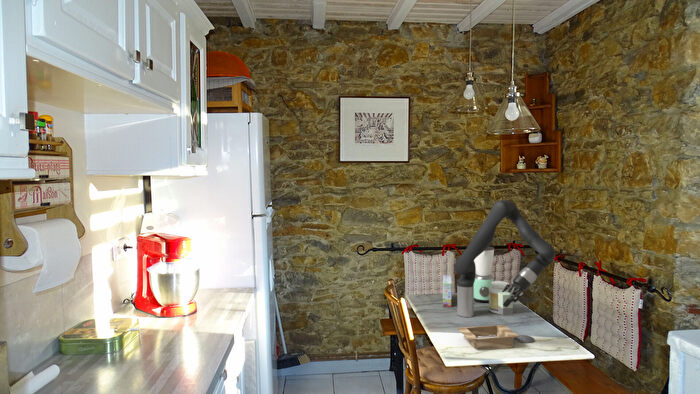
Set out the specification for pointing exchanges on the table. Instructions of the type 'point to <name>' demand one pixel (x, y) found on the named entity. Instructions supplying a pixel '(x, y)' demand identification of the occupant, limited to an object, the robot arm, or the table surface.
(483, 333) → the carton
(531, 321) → the table surface
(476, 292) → the mint green blender
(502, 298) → the box
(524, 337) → the slate mat
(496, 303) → the supplement tub
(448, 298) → the snack box
